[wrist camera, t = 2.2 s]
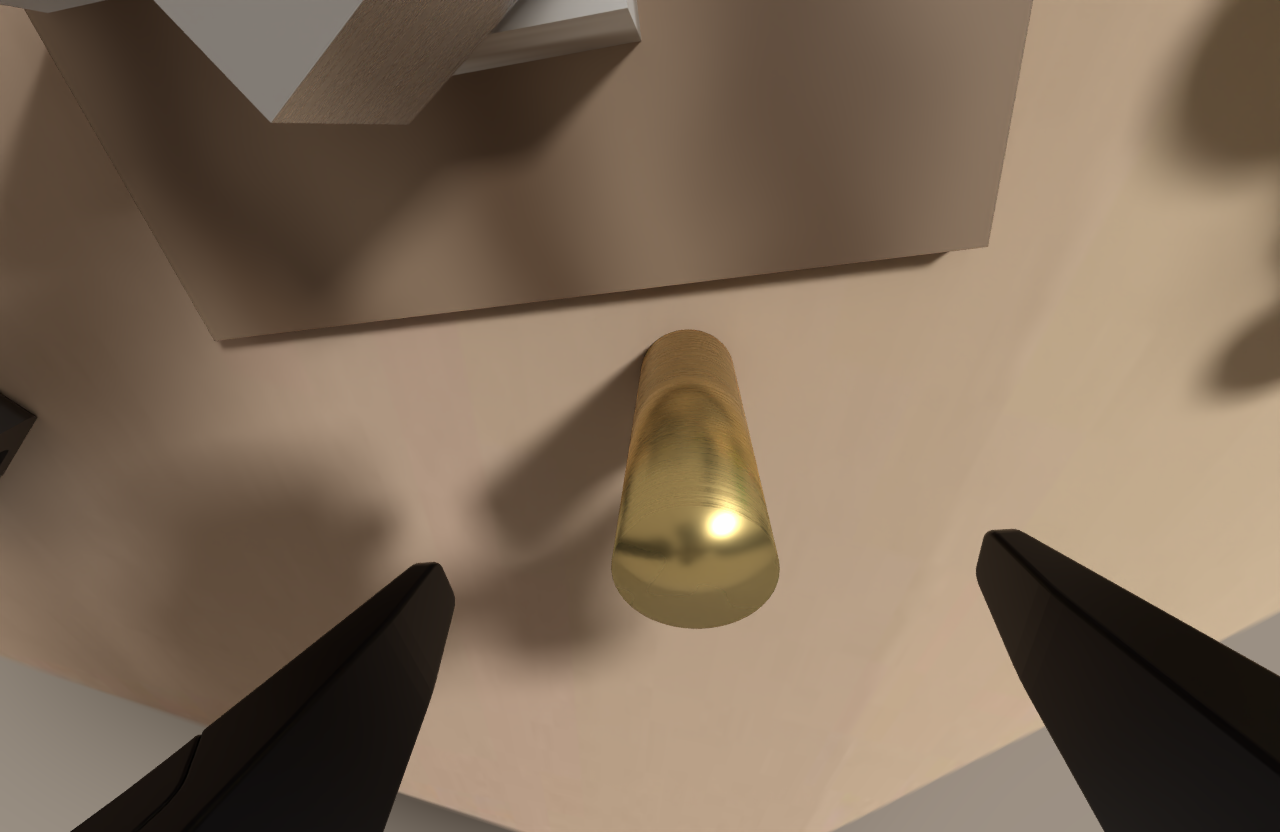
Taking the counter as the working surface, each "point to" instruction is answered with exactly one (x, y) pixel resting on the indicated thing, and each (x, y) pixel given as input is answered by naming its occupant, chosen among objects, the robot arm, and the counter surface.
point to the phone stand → (12, 430)
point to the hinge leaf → (338, 52)
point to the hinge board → (561, 154)
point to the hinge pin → (692, 493)
